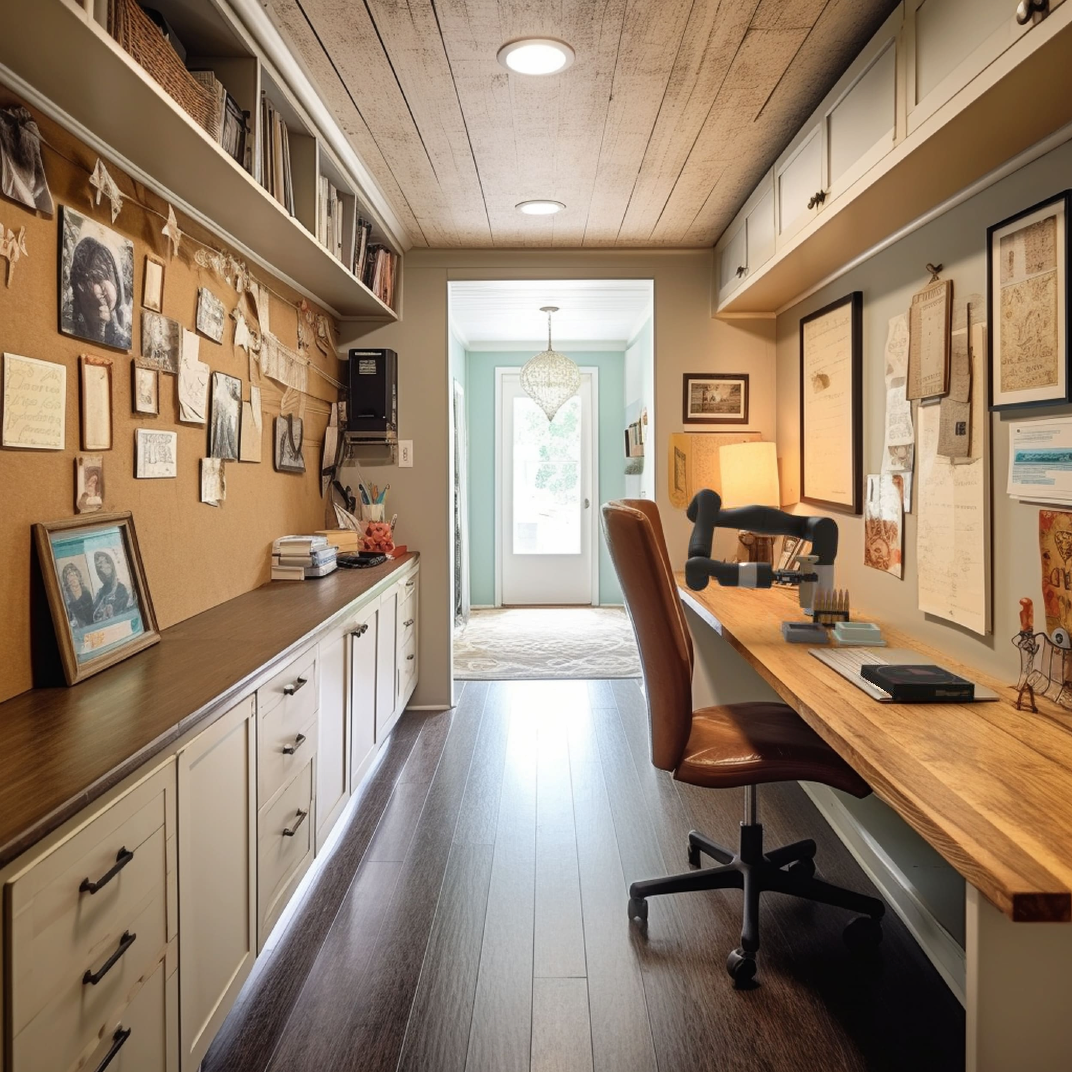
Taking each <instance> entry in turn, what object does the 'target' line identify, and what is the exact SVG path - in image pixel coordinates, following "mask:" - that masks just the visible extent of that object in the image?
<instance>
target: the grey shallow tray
mask: <svg viewBox="0 0 1072 1072" xmlns="http://www.w3.org/2000/svg"><path fill="white" fill-rule="evenodd" d="M830 634H831V636H832V637H833V638H834V639H835V640H836V642H837V643H838V645H843V646H864V647H865V646H866V647H867V646H869V647H883V648H885V647H886V648H887V642H886V641H885V640H883V638H882V629H881V628H880V627H878V625H876V624H875V623H874V622H853V621H852V622H850V621H849V622H836V625H835V629H830Z"/></svg>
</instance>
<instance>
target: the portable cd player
mask: <svg viewBox="0 0 1072 1072" xmlns="http://www.w3.org/2000/svg"><path fill="white" fill-rule="evenodd" d="M860 667H861V668H860V672H859V674H860V675H861V676H862V677H863V678H865V679H866V680H868V681H870V682H871V683H873V684H875V685H876V686H878V687H880V688H881V689H883V690H884V691H886V692H887V693H889V694H890V695H891V696H892V698H893V700H892V701H894V702H895V701H896V702H897V700H898V701H902V702H903V701H904V702H905V701H906V702H907V701H908V702H918V701H919V702H975V691H976V690H975V685H976V684H975V683H973V682H971V681H969V680H966V679H964V678H963V677H961V676H958V675H956V674H954V673H952V672H950V671H948V670H946V669H944V668H942V667H940V666H938V665H936V664H861V666H860ZM860 675H859V676H860Z"/></svg>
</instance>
